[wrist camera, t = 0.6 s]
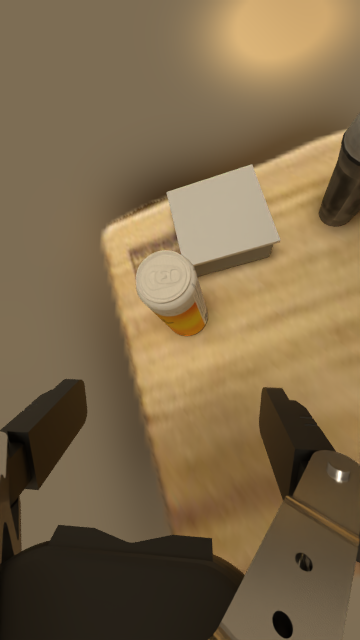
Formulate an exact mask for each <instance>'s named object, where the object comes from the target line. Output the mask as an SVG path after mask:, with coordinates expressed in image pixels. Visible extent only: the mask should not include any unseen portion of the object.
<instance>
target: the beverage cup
mask: <svg viewBox="0 0 360 640" xmlns="http://www.w3.org/2000/svg"><path fill="white" fill-rule="evenodd" d="M341 144H342V145H341V149H340V153H339V157H338V161H337V164H336V166H335V169H334V172H333V174H332V177H331V179H330V182H329V185H328V187H327V190H326V193H325V195H324V198H323V201H322V204H321V208H320V211H319V217H320V218H321V220H322V221H323V222H324V223H325V224H327V225H330V226H341V225H344V224H346V223H347V222H349V220H350V219H351V218H352V217H353V216H355V215H356V214H357V213H358V212H359V211H360V113H359V114H358V115H357V117H356V118H355V120H354V121H353V122H352V124H351V125H350V127H349V128H348V129H347V131H346V132H345V133H344V135H343V139H342V143H341Z"/></svg>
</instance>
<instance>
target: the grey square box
mask: <svg viewBox="0 0 360 640" xmlns="http://www.w3.org/2000/svg"><path fill="white" fill-rule="evenodd" d="M167 196H168V200H169V205H170V209H171V213H172V217H173V222H174V226H175V230H176V234H177V239H178V243H179V247H180V251H181V255H183V256H184V257H186V258H187V259H188V260H189V261H190V262H191V263H192V264H193V266H194V268H195V271H196V274H197V277H198V276H201V275H205V274H209V273H212V272H216V271H219V270H223V269H227V268H230V267H234V266H238V265H241V264H245V263H248V262H252V261H256V260H259V259H263V258H266V257H269V256H270V253H271V250H272V247H273V244H275V243H279V242H280V238H279V235H278V232H277V230H276V227H275V224H274V222H273V219H272V216H271V214H270V211H269V208H268V206H267V203H266V200H265V198H264V195H263V192H262V190H261V187H260V184H259V182H258V179H257V176H256V174H255V171H254V168H253V166H252V164H251V165H248V166H245V167H242V168H239V169H236V170H233V171H230V172H227V173H224V174H221V175H218V176H215V177H212V178H209V179H206V180H202V181H200V182H196V183H193V184H190V185H187V186H184V187H181V188H178V189H175V190H172V191H169V192H167Z"/></svg>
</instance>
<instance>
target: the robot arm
mask: <svg viewBox="0 0 360 640" xmlns="http://www.w3.org/2000/svg"><path fill="white" fill-rule="evenodd" d="M86 417H87V404H86V395H85V386H84V382H83V381H82V380H75V379H65V380H63V381H62V382H61V383H60V384H59V385H57V386H56V388H54V389H53V390H50V391H48V392H46V393H44V394H42V395H40V396H39V397H38V398H37V399H36V400H34V401H33V402H32V404H31V405H29V406H28V407H27V408H25V410H24V411H22V412H21V413H20V414H19V415H17V416H16V417H15V418H14V419H13V420H12V421H10V422H9V423H8V424H7V425H6V426H5V427H3V428H2V429H1V430H0V640H342V639H343V633H344V627H345V621H346V615H347V610H348V603H349V598H350V592H351V586H352V581H353V575H354V569H355V563H356V561H357V562H359V563H360V465H359V464H358V463H356V462H355V461H354V460H352V459H351V458H349V457H347V456H345V455H343V454H341V453H338V452H336V451H335V449H334V448H333V446H332V445H331V444H330V442H329V441H328V439H327V438H326V436H325V435H324V433H323V432H322V431H321V429H320V428H319V426H317V423H316V422H315V420H314V419H312V416H311V415H310V413H309V412H308V410H307V409H306V408H305V407H304V406H302V405H301V404H300V403H298V402H297V401H294V400H289V399H288V397H287V395H286V394H285V392H284V391H283V389H282V388H267V387H264V388H263V389H262V395H261V406H260V417H259V426H260V433H261V436H262V439H263V442H264V445H265V448H266V451H267V454H268V457H269V460H270V463H271V466H272V469H273V472H274V475H275V478H276V481H277V484H278V487H279V490H280V493H281V495H282V498H283V502H282V504H281V506H280V508H279V510H278V512H277V514H276V516H275V518H274V520H273V522H272V524H271V526H270V528H269V530H268V531H267V533H266V535H265V537H264V539H263V541H262V543H261V545H260V547H259V549H258V551H257V553H256V555H255V557H254V559H253V561H252V563H251V565H250V567H249V569H248V571H247V572H246V574H245V575H244V574H243V573H242V572H241V571H240V570H238V569H237V568H236V567H234V566H233V565H232V564H230V563H229V562H227V561H226V560H224V559H222V558H220V557H218V556H216V555H213V553H212V538H202V537H190V536H179V535H170V536H165V537H161V538H155V539H150V540H145V541H140V542H135V543H129V542H126V541H123V540H121V539H119V538H116V537H114V536H112V535H109V534H107V533H105V532H102V531H100V530H98V529H95V528H87V527H75V526H64V525H58V527H57V528H56V531H55V532H54V534H53V536H52V538H51V540H50V541H46V542H43V543H40V544H37V545H34V546H32V547H30V548H28V549H25V550H24V551H22V543H21V501H20V496H19V495H20V494H21V493H22V491H23V490H24V489H33V490H39V488H40V487H41V485H42V484H43V483H44V481H45V480H46V478H47V477H48V475H49V474H50V473H51V471H52V470H53V468H54V467H55V465H56V464H57V462H58V461H59V459H60V458H61V457H62V455H63V453H64V452H65V451H66V449H67V448H68V446H69V445H70V444H71V442H72V441H73V439H74V438H75V436H76V435H77V434H78V432H79V431H80V429H81V428H82V426H83V425H84V423H85V421H86Z"/></svg>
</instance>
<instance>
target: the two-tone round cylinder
mask: <svg viewBox="0 0 360 640" xmlns="http://www.w3.org/2000/svg"><path fill="white" fill-rule="evenodd" d="M136 289H137V293H138V295H139V297H140V299H141V300H142V301H143V302H144V303H145V304H146V305H147V306H148V307H149V308H150V309H151V310H152V311H153V312H154V313H155V314H156V315H157V316H158V317H159V318H160V319H161V320H162V321H163V322H165V323H166V324H167V325H168V326H169V327H170V328H171V329H172V330H173V331H174V332H175V333H177V334H179V335H183V336H190V335H194V334H196V333H198V332H199V331H201V330H202V329H203V327H204V326H205V324H206V322H207V318H208V312H207V308H206V305H205V301H204V298H203V294H202V291H201V288H200V284H199V281H198V278H197V274H196V271H195V268H194V266H193V264H192V263H191V262H190V261H189V260H188V259H187V258H186V257H184V256H183V255H181V254H179V253H177V252H174V251H170V250H162V251H158V252H155V253H153V254H151V255H149V256H148V257H146V258H145V259H144V260H143V262H142V263H141V264H140V266H139V268H138V270H137V274H136Z"/></svg>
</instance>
